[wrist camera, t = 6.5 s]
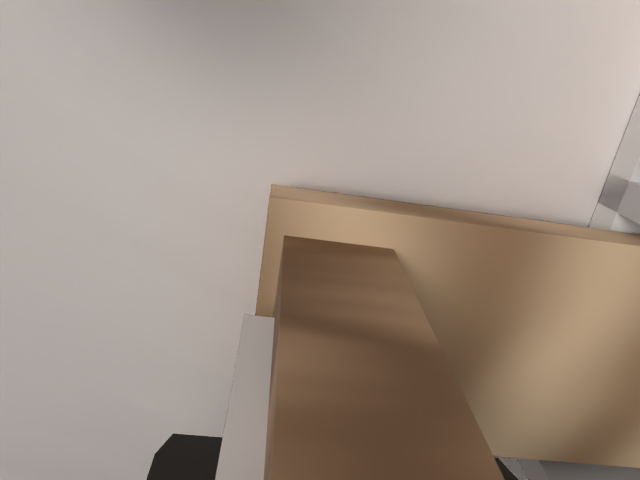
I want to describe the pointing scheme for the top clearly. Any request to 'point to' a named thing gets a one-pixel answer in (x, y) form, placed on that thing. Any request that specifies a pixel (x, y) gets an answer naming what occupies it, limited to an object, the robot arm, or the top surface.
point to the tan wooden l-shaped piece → (444, 340)
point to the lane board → (616, 215)
